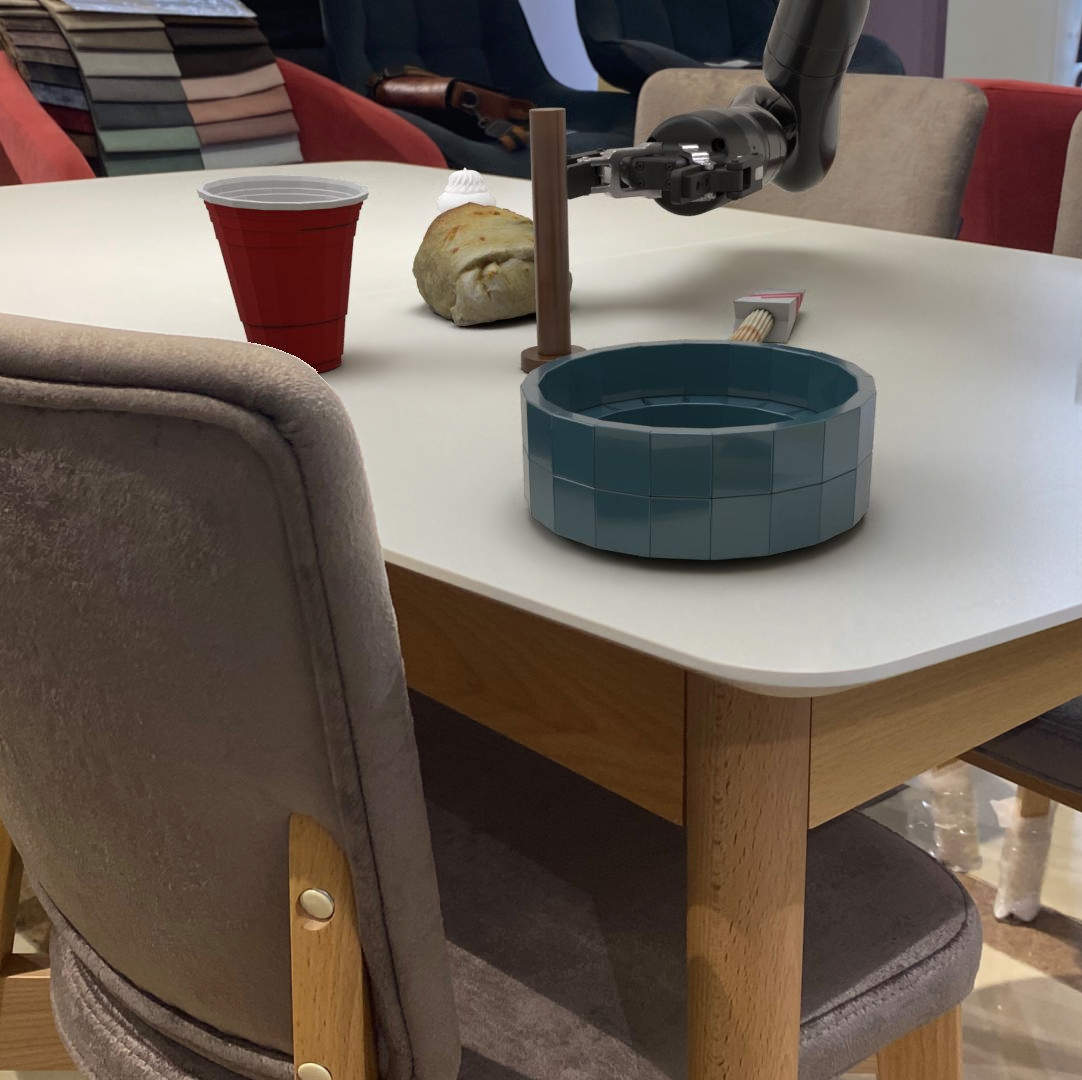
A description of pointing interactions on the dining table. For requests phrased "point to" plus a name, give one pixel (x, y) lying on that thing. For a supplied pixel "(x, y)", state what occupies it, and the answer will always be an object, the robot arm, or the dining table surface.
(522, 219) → the pastry
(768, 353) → the bowl
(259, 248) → the plastic cup
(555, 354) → the stirrer
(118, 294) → the dining table surface
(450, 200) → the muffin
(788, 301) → the box of toothpicks
